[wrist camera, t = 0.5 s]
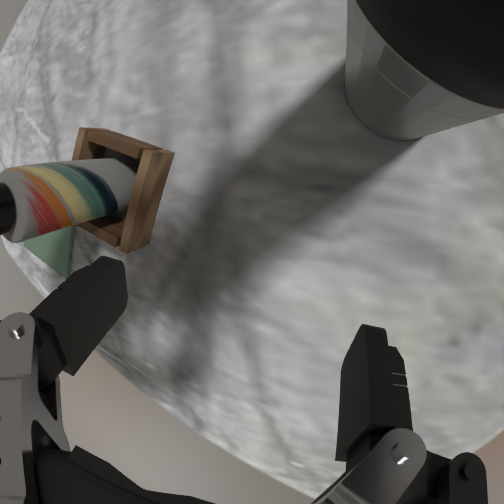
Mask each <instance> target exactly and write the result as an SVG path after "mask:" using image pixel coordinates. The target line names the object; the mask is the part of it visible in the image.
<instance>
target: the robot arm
mask: <svg viewBox="0 0 504 504" xmlns="http://www.w3.org/2000/svg"><path fill="white" fill-rule="evenodd" d="M344 82H345V93H346V96H347V99H348V103H349V104H350V106H351V108H352V110H353V112H354V113H355V115H356V116H357V117H358V118H359V120H360V121H361V122H362V123H363V124H365V125H366V126H367V127H368V128H369V129H371V130H372V131H374V132H376V133H377V134H379V135H381V136H384V137H387V138H390V139H395V140H412V139H416V138H419V137H423V136H426V135H430V134H433V133H437V132H440V131H443V130H446V129H450V128H453V127H456V126H460V125H463V124H467V123H470V122H474V121H477V120H481V119H484V118H488V117H491V116H494V115H498V114H502V113H504V0H347V45H346V65H345V81H344ZM127 300H128V294H127V286H126V277H125V267H124V263H123V262H122V261H120V260H117V259H113V258H110V257H107V256H101V257H99V258H98V259H97V260H96V261H95V262H94V263H92V264H91V265H90V266H85V267H83V268H81V269H79V270H77V271H75V272H74V273H73V274H72V275H70V276H69V277H68V278H67V279H66V280H65V282H63V283H62V284H60V285H59V286H58V289H55V290H54V291H53V292H52V293H51V294H50V295H49V296H47V297H46V298H45V299H44V300H43V301H42V302H41V303H40V304H39V305H38V306H37V307H36V308H35V309H34V310H33V311H32V312H31V313H30V314H27V313H21V312H19V313H14V314H11V315H9V316H7V317H6V318H4V319H3V320H2V321H1V320H0V504H214V503H211V502H208V501H204V500H201V499H198V498H195V497H191V496H184V495H175V494H168V493H161V492H155V491H149V490H145V489H143V488H141V487H139V486H138V485H136V484H135V483H134V482H133V481H131V480H130V479H129V478H127V477H126V476H125V475H123V474H122V473H121V472H119V471H118V470H117V469H116V468H115V467H113V466H112V465H111V464H110V463H108V462H106V461H104V460H102V459H100V458H98V457H97V456H95V455H93V454H91V453H89V452H87V451H85V450H84V449H82V448H80V447H78V446H75V448H74V449H73V451H72V452H71V450H70V446H69V442H68V439H67V437H66V434H65V432H64V428H63V423H62V411H61V396H60V379H59V376H58V375H59V374H60V372H61V371H62V370H63V371H65V372H67V373H69V374H70V375H72V376H74V375H75V374H76V372H77V371H78V370H79V368H80V367H81V365H82V364H83V363H84V362H85V360H86V359H87V357H88V356H89V355H90V354H91V352H92V351H93V350H94V349H95V347H96V346H97V345H98V343H99V342H100V341H101V340H102V338H103V337H104V336H105V335H106V333H107V332H108V331H109V330H110V328H111V327H112V326H113V325H114V323H115V322H116V321H117V320H118V318H119V317H120V316H121V315H122V313H123V312H124V310H125V308H126V305H127ZM405 374H406V372H405V365H404V360H403V358H402V357H401V355H400V353H399V352H398V350H397V348H396V347H392V346H388V340H387V334H386V330H385V329H384V328H380V327H375V326H370V325H365V324H362V325H361V326H360V328H359V330H358V332H357V334H356V336H355V338H354V340H353V342H352V344H351V346H350V348H349V350H348V352H347V354H346V356H345V358H344V361H343V364H342V369H341V382H340V404H339V421H338V434H337V447H336V457H335V461H344V462H346V471H345V472H344V473H343V474H342V475H341V476H340V477H339V478H338V479H337V480H336V481H335V482H334V483H333V484H331V485H330V486H329V487H328V488H327V489H326V490H325V491H324V492H323V493H322V494H321V495H319V496H318V497H317V498H316V499H315V500H314V501H313V502H311V503H310V504H488V495H487V479H486V470H485V466H484V464H483V462H482V461H481V459H480V458H479V457H478V456H476V455H475V454H473V453H469V452H465V453H461V454H459V455H457V456H456V457H455V458H453V459H452V460H451V459H448V458H445V457H442V456H440V455H437V454H434V453H432V452H429V451H427V450H426V446H425V444H424V442H423V440H422V439H421V438H420V436H419V435H417V434H416V433H415V432H413V428H412V418H411V409H410V401H409V393H408V388H407V378H406V376H405Z"/></svg>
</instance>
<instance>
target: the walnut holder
mask: <svg viewBox="0 0 504 504" xmlns="http://www.w3.org/2000/svg"><path fill="white" fill-rule="evenodd" d="M105 147H107V148H110V149H113V150H115V151H118V152H121V153H123V154H126V155H129V156H131V157H134V158H136V159H137V158H141V161H140V164H139V168H138V171H137V175H136V179H135V182H134V186H133V190H132V194H131V198H130V202H129V207H128V211H127V215H126V220H125V222H124V221H122V220H120V219H119V218H117V217H115V216H113V215H111V214H110V215H106V216H103V217H99V218H96V219H93V220H89V221H86V222H82V223H79V224H76V225H78V226H80V227H82V228H83V229H85V230H87V231H88V232H90V233H92V234H93V235H95V236H97V237H99V238H100V239H102V240H104V241H106V242H107V243H109V244H111V245H113V246H114V247H117V246H120V248H119V249H120V250H121V251H123V252H125V253H129V252H131V251H134V250H136V249H138V248H140V247H142V246H144V245H147V244H149V241H150V237H151V233H152V229H153V225H154V222H155V218H156V214H157V210H158V207H159V203H160V200H161V196H162V193H163V189H164V186H165V182H166V179H167V176H168V172H169V169H170V166H171V163H172V160H173V157H174V152H171V151H168V150H162V148H160V147H157V146H154V145H151V144H148V143H146V142H143V141H140V140H137V139H134V138H131V137H128V136H125V135H122V134H119V133H116V132H112V131H110V130H107V129H102V128H82V127H80V128H79V132H78V136H77V140H76V144H75V149H74V153H73V158H72V161H74V160H88V159H103V155H104V151H105Z"/></svg>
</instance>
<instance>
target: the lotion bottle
mask: <svg viewBox="0 0 504 504" xmlns="http://www.w3.org/2000/svg"><path fill="white" fill-rule="evenodd" d="M138 168H139V167H138V166H137V164H136V163H134V162H133V161H131V160H129V159H126V158H105V159H88V160H74V161H62V162H51V163H41V164H32V165H24V166H17V167H11V168H7V169H5V170H3V171H2V172H1V174H0V235H3V236H4V237H5V238H6V239H7V240H8V241H10V242H12V243H19V242H23V241H26V240H29V239H32V238H35V237H38V236H41V235H44V234H47V233H50V232H53V231H56V230H60V229H63V228H66V227H69V226H72V225H76V224H79V223H82V222H86V221H89V220H93V219H96V218H99V217H103V216H106V215H110V214H114V213H117V212H120V211H124V210H127V209H128V207H129V202H130V198H131V194H132V190H133V186H134V182H135V179H136V175H137V171H138Z"/></svg>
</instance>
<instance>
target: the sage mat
mask: <svg viewBox="0 0 504 504" xmlns="http://www.w3.org/2000/svg"><path fill="white" fill-rule="evenodd" d="M74 228H75V225H72V226H69V227H66V228H63V229H60V230H56V231H53V232H50V233H47V234H44V235H41V236H38V237H35V238H32V239H29V240H26V241H24V246H25V247H26V248H27V249H28V250H29V251H31V252H32V253H33V254H35V255H36V256H37V257H38V258H40V259H41V260H42V261H43V262H45V263H46V264H47V265H49V266H50V267H51V268H53V269H54V270H55V271H57V272H58V273H59V274H61V275H62V276H63V277H65V278H66V279H67V278H68V277H69V275H70V263H71V253H72V244H73V236H74Z"/></svg>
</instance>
